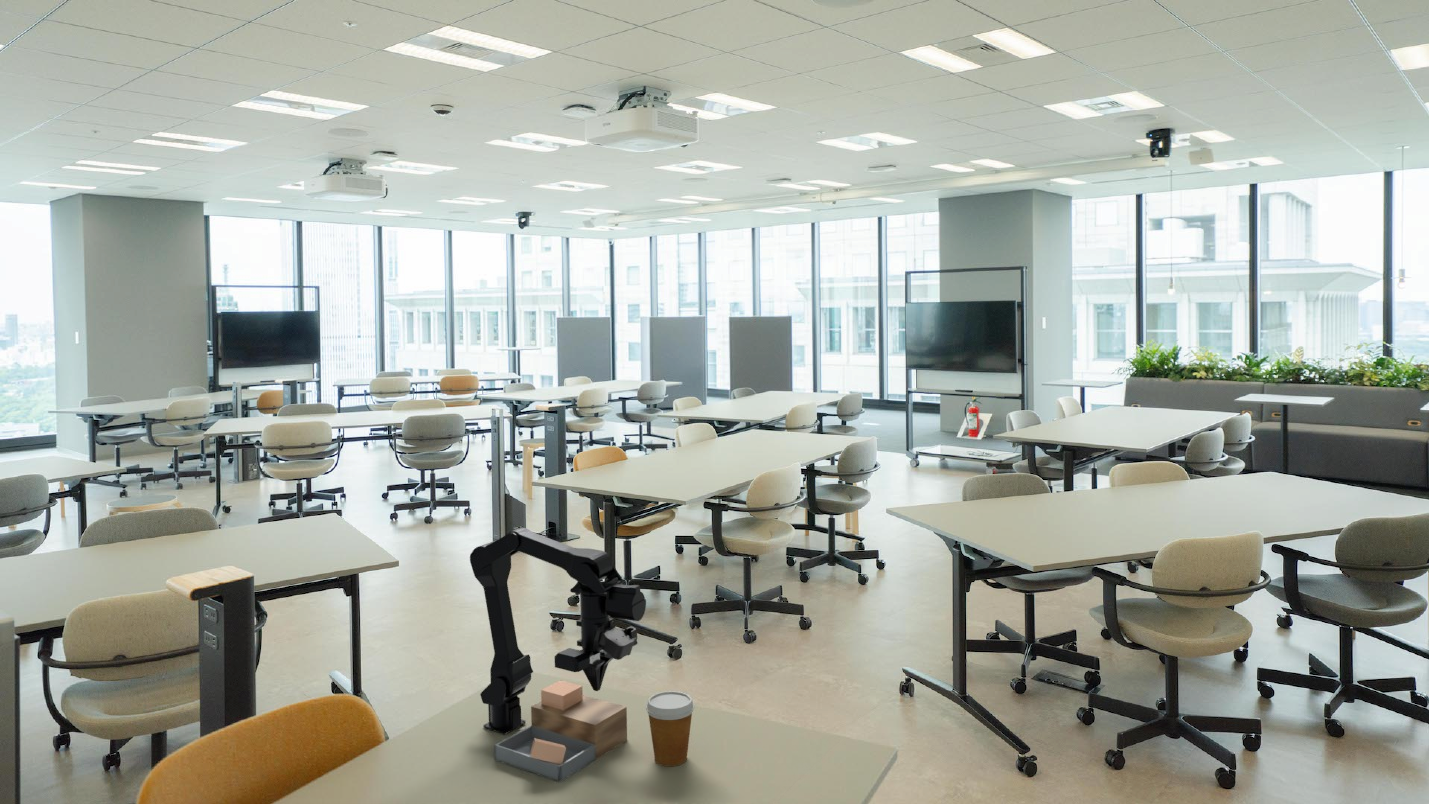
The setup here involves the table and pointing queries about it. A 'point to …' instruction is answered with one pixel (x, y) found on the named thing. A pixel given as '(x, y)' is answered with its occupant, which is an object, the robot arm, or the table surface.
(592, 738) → the brown wooden block
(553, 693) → the tile
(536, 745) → the tile
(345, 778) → the table surface
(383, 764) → the table surface
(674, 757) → the disposable coffee cup
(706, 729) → the table surface
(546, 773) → the tray
